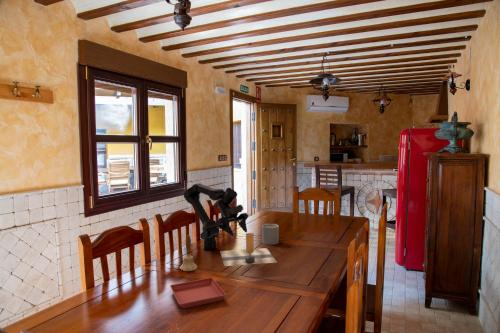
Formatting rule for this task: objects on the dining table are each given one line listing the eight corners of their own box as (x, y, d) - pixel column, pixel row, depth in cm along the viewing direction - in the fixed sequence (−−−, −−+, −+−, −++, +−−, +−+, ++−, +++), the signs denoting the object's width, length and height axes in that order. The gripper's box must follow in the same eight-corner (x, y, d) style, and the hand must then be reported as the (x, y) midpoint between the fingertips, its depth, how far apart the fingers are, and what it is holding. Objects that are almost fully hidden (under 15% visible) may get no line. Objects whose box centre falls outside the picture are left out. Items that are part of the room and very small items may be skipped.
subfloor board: (224, 268, 167) (224, 266, 167) (219, 253, 190) (219, 251, 190) (277, 264, 172) (277, 262, 172) (266, 249, 194) (266, 248, 194)
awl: (246, 263, 170) (246, 235, 169) (244, 260, 175) (244, 233, 174) (255, 263, 171) (255, 234, 170) (253, 259, 176) (253, 232, 174)
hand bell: (200, 266, 170) (199, 233, 169) (192, 272, 163) (191, 238, 161) (185, 264, 173) (184, 232, 172) (176, 270, 165) (175, 236, 164)
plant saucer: (179, 312, 125) (179, 303, 125) (169, 292, 142) (169, 284, 142) (226, 302, 132) (226, 294, 132) (212, 284, 149) (212, 277, 149)
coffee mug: (272, 245, 202) (272, 228, 201) (258, 242, 208) (258, 226, 208) (285, 240, 212) (285, 224, 212) (272, 237, 219) (272, 221, 218)
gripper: (218, 202, 174) (233, 228, 167) (246, 197, 187) (260, 221, 180) (209, 215, 180) (223, 240, 173) (236, 210, 193) (250, 233, 186)
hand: (240, 233), depth 178 cm, fingers open, 9 cm apart
